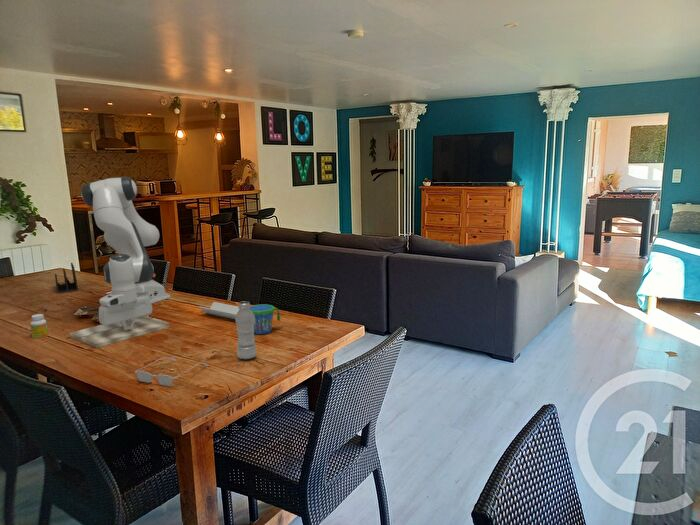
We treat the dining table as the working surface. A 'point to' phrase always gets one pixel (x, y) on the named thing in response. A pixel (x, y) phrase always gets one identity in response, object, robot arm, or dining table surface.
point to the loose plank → (124, 333)
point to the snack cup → (263, 317)
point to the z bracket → (222, 310)
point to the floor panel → (103, 328)
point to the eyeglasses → (158, 376)
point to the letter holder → (67, 283)
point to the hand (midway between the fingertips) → (128, 329)
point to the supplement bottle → (39, 326)
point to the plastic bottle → (245, 331)
